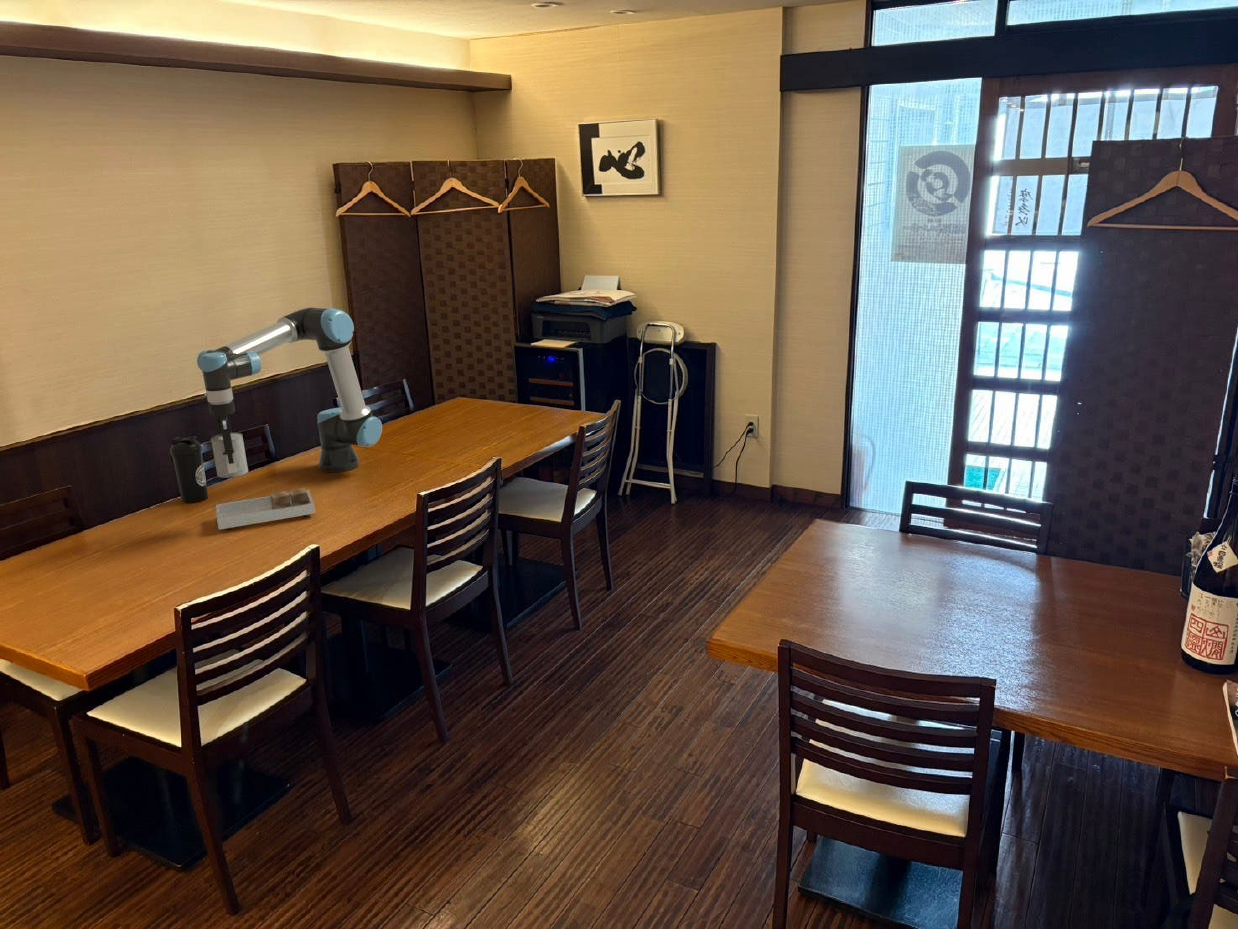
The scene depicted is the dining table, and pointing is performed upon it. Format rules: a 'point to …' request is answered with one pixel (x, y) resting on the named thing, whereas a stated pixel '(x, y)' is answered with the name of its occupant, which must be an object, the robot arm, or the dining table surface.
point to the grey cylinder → (221, 459)
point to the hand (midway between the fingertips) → (232, 468)
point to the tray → (258, 511)
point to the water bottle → (189, 469)
